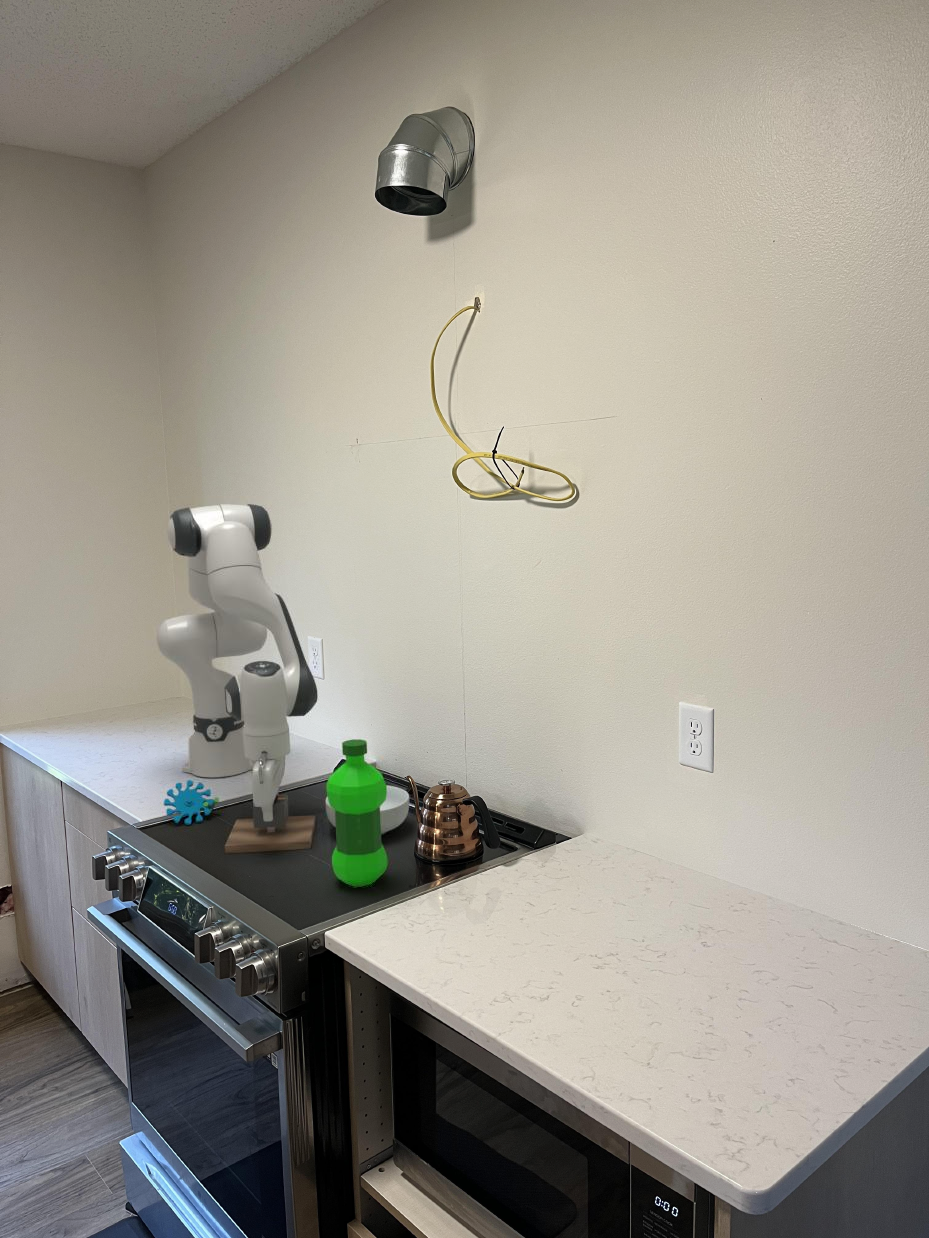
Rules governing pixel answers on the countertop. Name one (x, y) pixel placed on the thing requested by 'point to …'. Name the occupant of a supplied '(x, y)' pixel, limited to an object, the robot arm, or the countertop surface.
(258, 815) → the gray open-top tub
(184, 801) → the gear
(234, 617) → the robot arm
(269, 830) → the shaft
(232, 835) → the shaft base
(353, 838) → the plastic bottle
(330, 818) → the cereal bowl
